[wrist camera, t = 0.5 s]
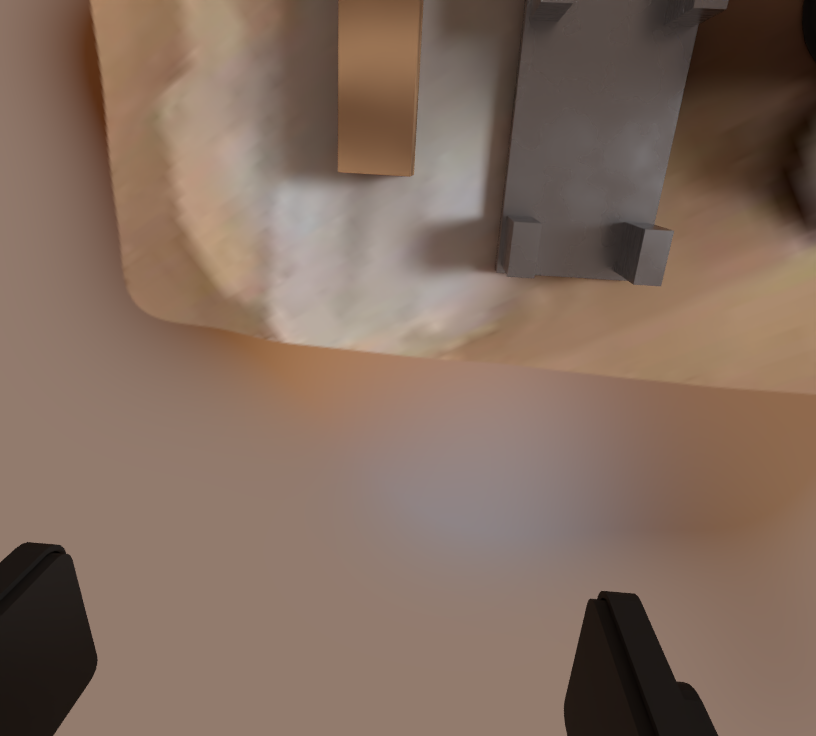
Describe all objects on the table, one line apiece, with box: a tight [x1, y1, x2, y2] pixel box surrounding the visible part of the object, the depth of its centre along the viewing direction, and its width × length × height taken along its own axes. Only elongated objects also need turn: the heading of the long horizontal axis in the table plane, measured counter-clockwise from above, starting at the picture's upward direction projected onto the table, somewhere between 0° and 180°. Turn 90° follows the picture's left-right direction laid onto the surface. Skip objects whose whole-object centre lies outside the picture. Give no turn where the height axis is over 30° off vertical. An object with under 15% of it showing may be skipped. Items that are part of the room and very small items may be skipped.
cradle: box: [495, 0, 729, 286], centre depth 28 cm, size 17×9×4 cm, turn 177°
